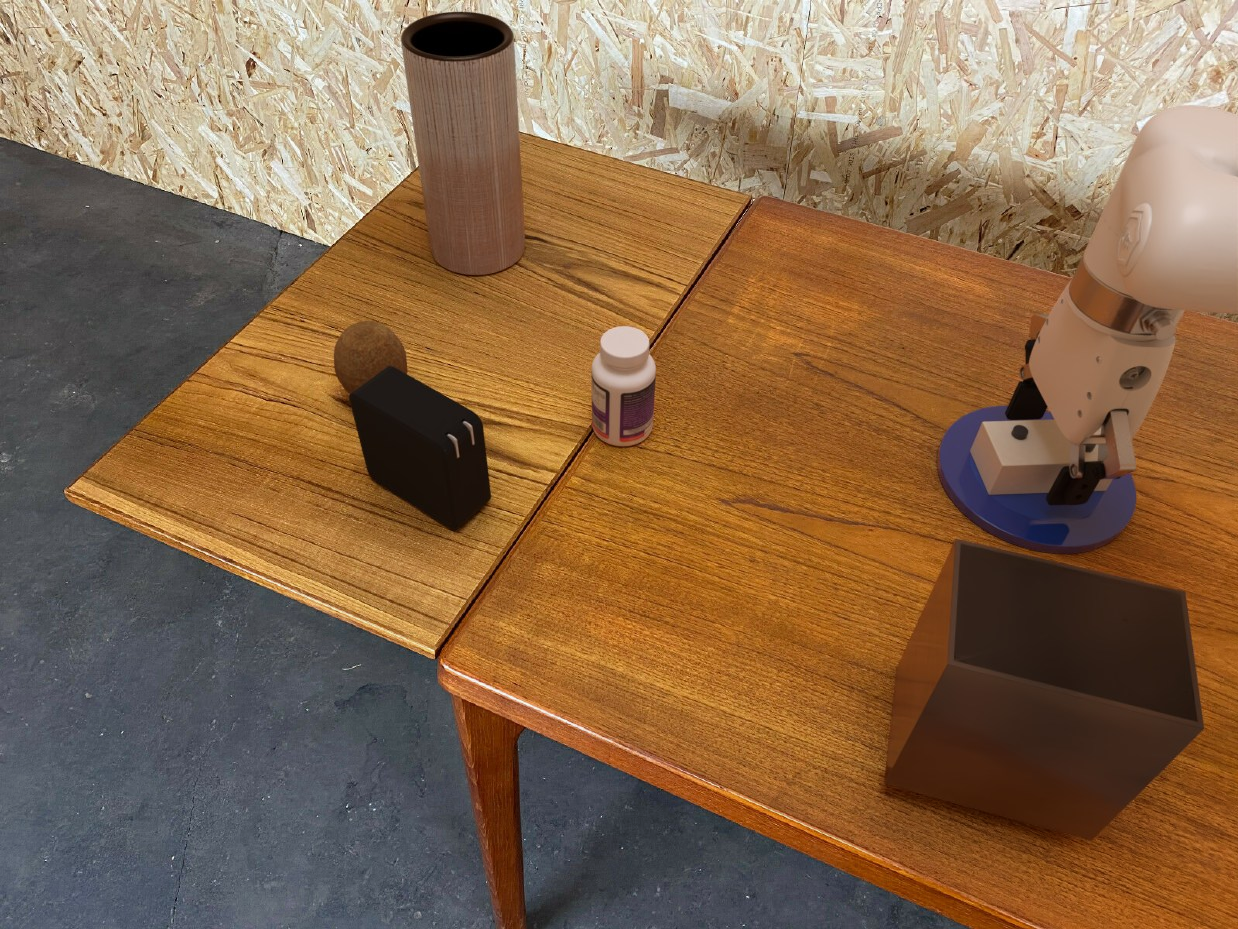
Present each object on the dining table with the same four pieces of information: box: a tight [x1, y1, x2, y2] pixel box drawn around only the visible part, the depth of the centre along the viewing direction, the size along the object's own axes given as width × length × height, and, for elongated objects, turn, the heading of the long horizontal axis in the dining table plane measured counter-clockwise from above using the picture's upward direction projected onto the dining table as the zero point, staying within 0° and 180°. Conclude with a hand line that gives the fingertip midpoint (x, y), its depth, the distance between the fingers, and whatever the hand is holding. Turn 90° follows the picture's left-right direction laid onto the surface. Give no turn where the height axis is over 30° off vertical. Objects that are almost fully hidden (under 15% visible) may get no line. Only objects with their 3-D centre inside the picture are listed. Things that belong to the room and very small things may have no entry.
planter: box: [400, 11, 526, 276], centre depth 93 cm, size 10×10×23 cm
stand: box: [883, 538, 1205, 842], centre depth 59 cm, size 13×9×15 cm
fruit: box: [333, 320, 408, 395], centre depth 83 cm, size 6×6×8 cm
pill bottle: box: [590, 325, 657, 447], centre depth 81 cm, size 5×5×10 cm
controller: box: [970, 420, 1113, 495], centre depth 79 cm, size 10×5×4 cm, turn 94°
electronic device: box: [348, 366, 492, 532], centre depth 75 cm, size 4×10×10 cm, turn 54°
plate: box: [936, 405, 1137, 555], centre depth 81 cm, size 16×16×1 cm
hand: (1043, 457), depth 79 cm, fingers open, 9 cm apart
